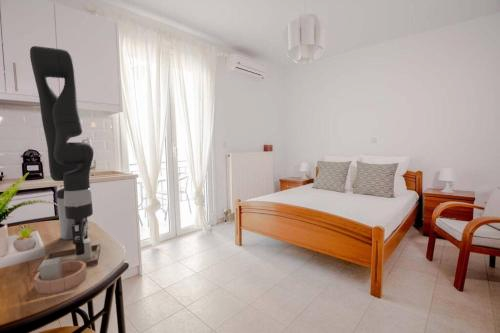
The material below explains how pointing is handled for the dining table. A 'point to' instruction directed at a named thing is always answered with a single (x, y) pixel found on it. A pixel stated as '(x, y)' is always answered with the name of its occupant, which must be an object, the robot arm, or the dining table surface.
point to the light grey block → (51, 269)
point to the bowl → (71, 277)
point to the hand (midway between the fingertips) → (82, 249)
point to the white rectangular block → (87, 249)
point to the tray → (73, 256)
